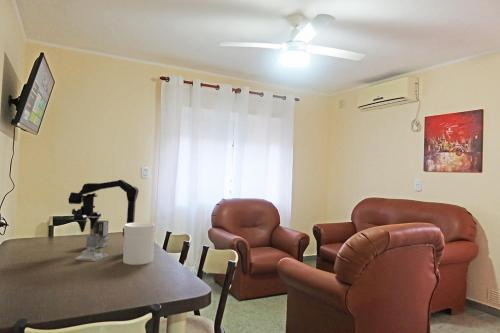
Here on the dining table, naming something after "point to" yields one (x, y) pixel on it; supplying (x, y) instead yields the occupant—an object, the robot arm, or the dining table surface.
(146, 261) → the canister
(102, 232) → the coffee box
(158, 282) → the dining table surface
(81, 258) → the sleeve block
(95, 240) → the column
